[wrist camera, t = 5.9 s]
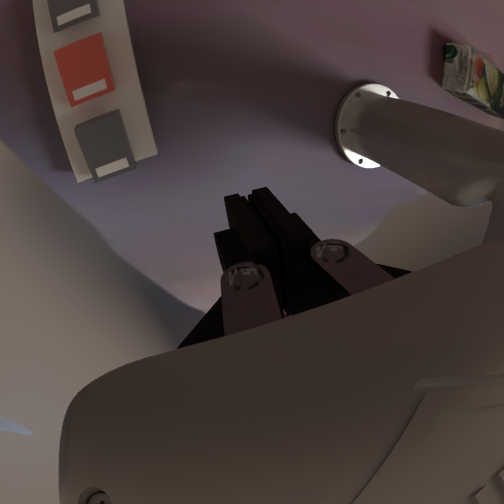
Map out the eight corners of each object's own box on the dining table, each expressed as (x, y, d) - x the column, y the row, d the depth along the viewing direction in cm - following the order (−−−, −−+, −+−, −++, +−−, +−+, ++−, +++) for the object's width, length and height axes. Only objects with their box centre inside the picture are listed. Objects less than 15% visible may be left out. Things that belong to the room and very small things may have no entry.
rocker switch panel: (119, -27, 19) (116, -40, 15) (156, 147, 31) (158, 155, 28) (42, 3, 17) (29, -5, 14) (83, 173, 30) (76, 185, 26)
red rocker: (101, 31, 19) (99, 32, 18) (115, 86, 23) (114, 90, 22) (56, 49, 18) (53, 51, 17) (73, 103, 22) (70, 108, 22)
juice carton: (436, 88, 38) (465, 95, 33) (441, 38, 33) (470, 41, 28) (486, 114, 44) (508, 123, 40) (491, 74, 39) (513, 80, 34)
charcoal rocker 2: (119, 108, 23) (118, 112, 22) (135, 161, 28) (136, 168, 27) (76, 124, 23) (73, 130, 22) (96, 176, 27) (95, 183, 26)
